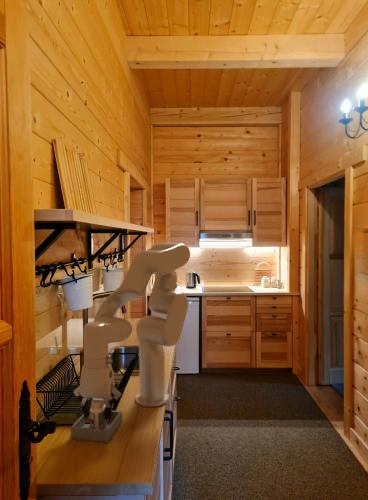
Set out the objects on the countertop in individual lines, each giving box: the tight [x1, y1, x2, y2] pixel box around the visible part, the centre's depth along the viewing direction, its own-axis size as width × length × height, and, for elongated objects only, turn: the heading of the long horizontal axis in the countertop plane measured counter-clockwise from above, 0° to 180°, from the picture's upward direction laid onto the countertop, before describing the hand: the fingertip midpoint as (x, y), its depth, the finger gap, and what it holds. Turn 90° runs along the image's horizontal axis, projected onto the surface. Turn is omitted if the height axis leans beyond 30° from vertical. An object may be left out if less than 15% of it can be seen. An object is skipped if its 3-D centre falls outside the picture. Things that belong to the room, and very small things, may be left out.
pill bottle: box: [89, 398, 107, 430], centre depth 110 cm, size 5×5×9 cm
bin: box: [70, 410, 123, 444], centre depth 109 cm, size 12×12×4 cm
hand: (97, 416), depth 109 cm, fingers open, 6 cm apart
